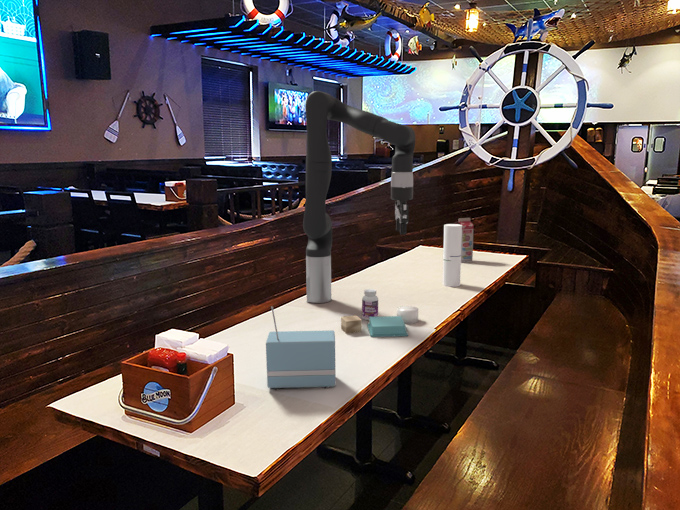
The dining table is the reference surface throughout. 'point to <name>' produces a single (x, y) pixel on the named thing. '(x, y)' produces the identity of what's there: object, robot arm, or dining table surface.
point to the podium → (386, 326)
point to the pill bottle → (369, 304)
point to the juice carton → (466, 239)
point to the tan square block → (351, 324)
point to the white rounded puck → (408, 314)
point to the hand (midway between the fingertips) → (401, 232)
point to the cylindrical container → (452, 255)
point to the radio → (300, 359)
